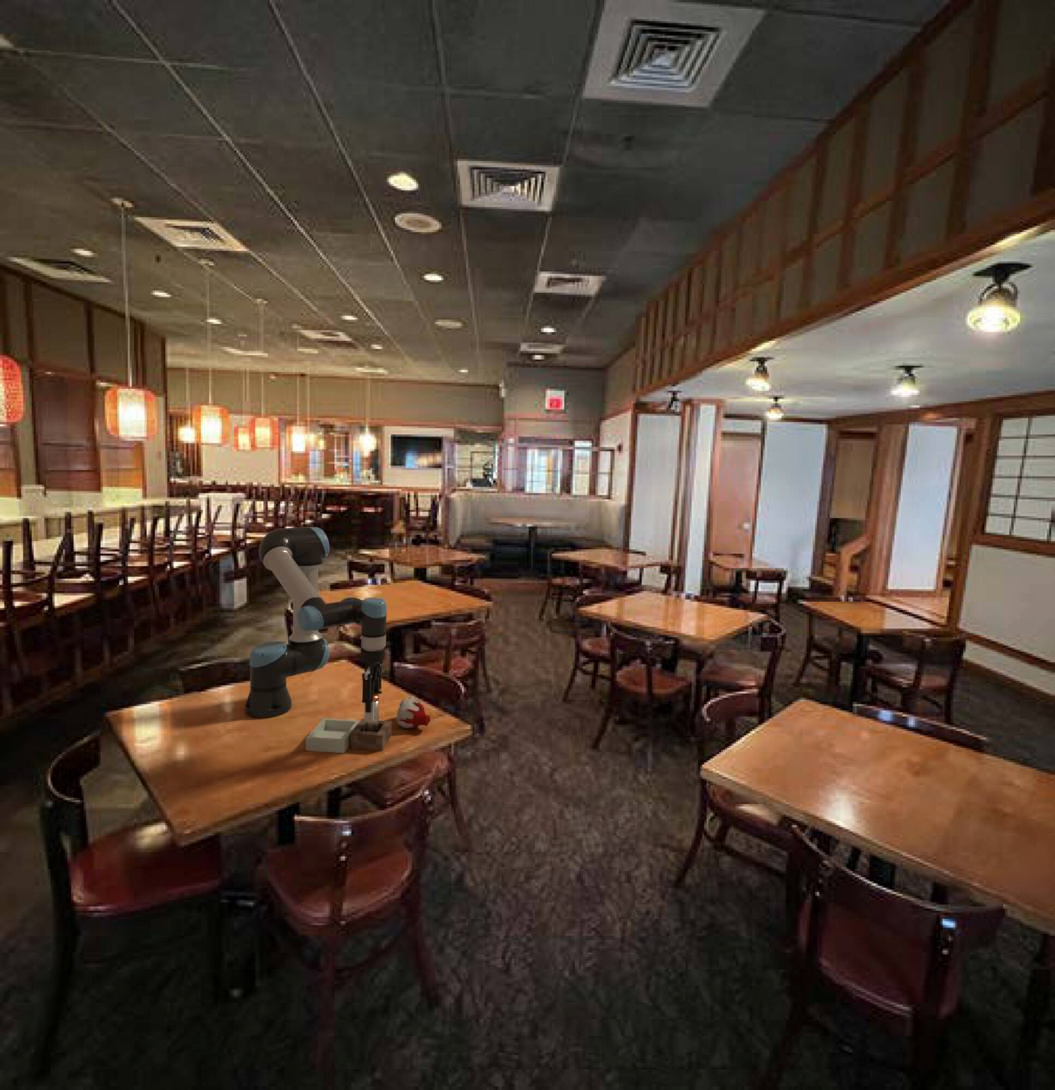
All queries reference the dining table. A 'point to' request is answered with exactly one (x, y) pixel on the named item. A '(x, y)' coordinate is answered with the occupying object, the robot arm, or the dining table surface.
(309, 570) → the robot arm
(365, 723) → the pin
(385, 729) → the block
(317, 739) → the tray
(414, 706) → the candle
